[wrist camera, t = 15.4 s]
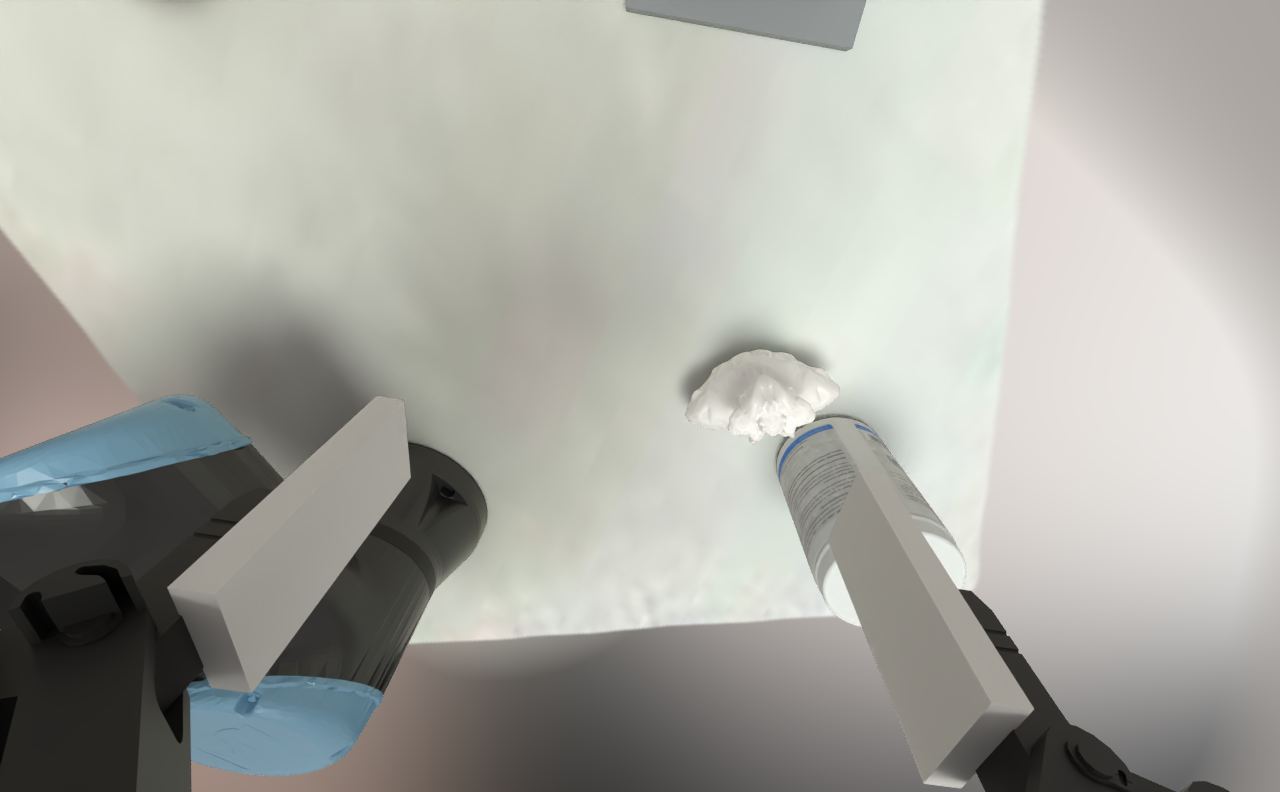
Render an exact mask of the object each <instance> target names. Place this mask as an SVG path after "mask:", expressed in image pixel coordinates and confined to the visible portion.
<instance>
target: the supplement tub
mask: <svg viewBox="0 0 1280 792" xmlns="http://www.w3.org/2000/svg"><path fill="white" fill-rule="evenodd" d="M794 433H795V435H794V437H793V438H791V437H789V438H788V439H787V441H786V442H785V443H784V445H783V446H782V448H781V450H780V452H779V456H778V459H777V475H778V478H779V481H780V484H781V487H782V490H783V493H784V496H785V499H786V502H787V504H788V507H789V510H790V513H791V516H792V519H793V521H794V524H795V527H796V530H797V533H798V535H799V538H800V541H801V544H802V547H803V550H804V552H805V555H806V558H807V561H808V564H809V566H810V569H811V572H812V574H813V577H814V580H815V582H816V584H817V586H818V588H819V590H820V592H821V593H822V595H823V598H824V600H825V602H826V604H827V606H828V607H829V609H830V610H831V611H832V612H833V613H834V614H835V615H836V616H838V617H839V618H841V619H842V620H844V621H846V622H848V623H850V624H853V625H856V626H860V627H862V626H861V624H860V621H859V619H858V616H857V614H856V611H855V609H854V606H853V603H852V601H851V598H850V596H849V593H848V591H847V588H846V586H845V583H844V581H843V578H842V576H841V573H840V571H839V568H838V566H837V563H836V561H835V558H834V555H833V553H832V550H831V548H830V545H829V543H828V540H827V539H828V537H829V535H830V533H831V530H832V528H833V526H834V524H835V521H836V519H837V517H838V515H839V513H840V510H841V508H842V506H843V504H844V501H845V499H846V497H847V495H848V493H849V490H850V488H851V486H852V484H853V481H854V479H855V477H856V475H857V473H858V470H862V471H868V472H875V473H881V474H885V476H886V477H887V479H888V481H889V482H890V484H891V485H892V487H893V488H894V490H895V491H896V493H897V495H898V496H899V498H900V499H901V501H902V502H903V504H904V506H905V507H906V509H907V510H908V512H909V513H910V515H911V517H912V518H913V520H914V521H915V523H916V524H917V526H918V527H919V529H920V531H921V532H922V534H923V535H924V537H925V538H926V540H927V542H928V543H929V545H930V546H931V548H932V549H933V551H934V553H935V554H936V556H937V557H938V559H939V560H940V562H941V564H942V565H943V567H944V568H945V570H946V571H947V573H948V574H949V576H950V578H951V579H952V581H953V582H954V584H955V585H956V587H957V589H961V588H962V586H963V584H964V581H965V578H966V564H965V560H964V557H963V555H962V553H961V552H960V550H959V549H958V547H957V545H956V542H955V540H954V539H953V537H952V535H951V534H950V533H949V531H948V530H947V529H946V527H945V526H944V525H943V523H942V522H941V520H940V519H939V518H938V516H937V515H936V514H935V512H934V511H933V509H932V508H931V507H930V505H929V504H928V503H927V501H926V500H925V499H924V497H923V496H922V495H921V493H920V492H919V491H918V489H917V488H916V487H915V485H914V484H913V483H912V481H911V480H910V478H909V477H908V476H907V474H906V473H905V472H904V470H903V469H902V468H901V466H900V465H899V464H898V462H897V461H896V460H895V458H894V457H893V456H892V454H891V453H890V451H889V450H888V449H887V447H886V446H885V445H884V443H883V442H882V441H881V439H880V438H879V437H878V435H877V434H876V433H875V432H874V431H873V430H872V429H871V428H870V427H868V426H867V425H865V424H863V423H861V422H859V421H856V420H853V419H849V418H841V417H840V418H839V417H833V418H826V419H821V420H818V421H815V422H812V423H810V424H807V425H805V426H803V427H802V428H800V429H799V430H797V431H796V432H794Z"/></svg>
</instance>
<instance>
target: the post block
mask: <svg viewBox="0 0 1280 792" xmlns="http://www.w3.org/2000/svg"><path fill="white" fill-rule="evenodd" d="M865 3H866V0H626V10H627V12H633V13H639V14H644V15H650V16H655V17H661V18H666V19H672V20H677V21H683V22H688V23H694V24H699V25H705V26H710V27H716V28H721V29H727V30H732V31H738V32H743V33H749V34H754V35H760V36H765V37H771V38H776V39H782V40H787V41H793V42H798V43H804V44H810V45H815V46H821V47H826V48H832V49H837V50H843V51H847V50H850V49H852V48H853V44H854V41H855V37H856V34H857V31H858V27H859V24H860V20H861V17H862V14H863V10H864V7H865Z"/></svg>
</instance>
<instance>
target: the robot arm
mask: <svg viewBox="0 0 1280 792" xmlns="http://www.w3.org/2000/svg"><path fill="white" fill-rule="evenodd" d="M251 443H253V441H252V439H251V438H250V437H247V436H243V435H242V434H241V433H240V432H239V431H238V430H237V429H236V428H235V427H234V426H233V425H232V424H231V423H230V422H229V421H228V420H227V419H226V418H225V417H224V416H223V415H222V414H221V413H220V412H219V411H218V410H217V409H216V408H214V407H213V406H212V405H211V404H210V403H208V402H207V401H205V400H203V399H201V398H198V397H195V396H190V395H171V396H166V397H163V398H159V399H157V400H154V401H151V402H149V403H146V404H143V405H141V406H138V407H135V408H133V409H130V410H127V411H125V412H122V413H119V414H117V415H114V416H111V417H109V418H106V419H104V420H101V421H98V422H96V423H93V424H90V425H87V426H85V427H82V428H80V429H77V430H74V431H71V432H69V433H66V434H64V435H61V436H58V437H55V438H53V439H50V440H47V441H45V442H42V443H39V444H37V445H34V446H31V447H29V448H26V449H24V450H21V451H18V452H16V453H13V454H10V455H8V456H5V457H3V458H0V792H191V761H193V762H196V763H199V764H202V765H206V766H209V767H213V768H217V769H221V770H226V771H231V772H237V773H244V774H253V775H264V776H281V775H282V776H284V775H296V774H303V773H309V772H313V771H317V770H320V769H323V768H325V767H327V766H330V765H331V764H333V763H335V762H336V761H338V760H339V759H341V758H342V757H343V756H345V754H347V753H348V752H349V750H350V749H351V748H352V747H353V746H354V744H355V743H356V741H357V739H358V738H359V736H360V734H361V732H362V731H363V729H364V727H365V725H366V723H367V722H368V720H369V718H370V717H371V715H372V713H373V712H374V710H375V709H376V708H377V707H378V706H379V705H380V703H381V702H382V699H383V694H384V692H385V690H386V688H387V686H388V684H389V682H390V680H391V678H392V676H393V674H394V672H395V670H396V668H397V666H398V664H399V661H400V660H401V657H402V655H403V653H404V651H405V649H406V647H407V645H408V643H409V641H410V639H411V637H412V635H413V633H414V631H415V629H416V627H417V625H418V623H419V621H420V618H421V616H422V614H423V612H424V610H425V608H426V606H427V604H428V602H429V600H430V598H431V596H432V594H433V592H434V590H435V589H436V588H437V587H438V586H439V585H440V584H441V583H442V582H443V581H444V580H445V579H446V578H447V577H448V576H449V575H450V574H451V573H452V572H453V571H454V570H456V569H457V568H458V567H459V566H460V565H461V564H462V563H463V562H464V561H465V560H466V559H467V558H468V557H469V556H470V555H471V553H472V552H473V551H474V549H475V548H476V546H477V544H478V542H479V540H480V537H481V535H482V533H483V531H484V528H485V525H486V520H487V509H486V504H485V500H484V497H483V495H482V493H481V491H480V489H479V487H478V486H477V484H476V483H475V481H474V480H473V479H472V478H471V476H470V475H469V474H468V473H467V472H466V471H465V470H464V469H463V468H461V467H460V466H459V465H458V464H456V463H455V462H454V461H452V460H451V459H449V458H448V457H446V456H444V455H442V454H440V453H438V452H436V451H434V450H431V449H429V448H426V447H423V446H419V445H415V444H410V443H408V439H407V427H406V415H405V403H404V400H401V399H395V398H388V397H382V396H376V397H375V398H374V399H373V400H372V401H371V402H369V403H368V404H367V405H366V406H365V407H364V408H363V409H362V410H361V411H360V412H359V413H357V414H356V415H355V416H354V417H353V418H352V419H351V420H350V421H349V422H348V423H347V424H345V425H344V426H343V427H342V428H341V429H340V430H339V431H338V432H337V433H336V434H334V435H333V436H332V437H331V438H330V439H329V440H328V441H327V442H326V443H325V444H324V445H322V446H321V447H320V448H319V449H318V450H317V451H316V452H315V453H314V454H313V455H312V456H310V457H309V458H308V459H307V460H306V461H305V462H304V463H303V464H302V465H301V466H300V467H298V468H297V469H296V470H295V471H294V472H293V473H292V474H291V475H290V476H289V477H287V478H286V479H285V480H284V479H283V478H282V477H281V476H280V475H279V474H278V473H277V472H276V471H275V470H274V468H273V467H272V466H271V465H270V464H269V463H268V462H267V461H266V460H265V459H264V458H263V456H262V455H261V454H260V453H259V452H258V451H257V450H256V449H255V448H254V447H253V445H252V444H251ZM827 540H828V543H829V545H830V548H831V550H832V553H833V555H834V558H835V561H836V563H837V566H838V568H839V571H840V573H841V576H842V578H843V581H844V583H845V586H846V588H847V591H848V593H849V596H850V598H851V601H852V603H853V606H854V609H855V611H856V614H857V616H858V619H859V621H860V624H861V626H862V629H863V631H864V634H865V636H866V639H867V641H868V644H869V646H870V649H871V651H872V654H873V656H874V659H875V662H876V664H877V667H878V669H879V672H880V674H881V677H882V679H883V682H884V684H885V687H886V689H887V692H888V694H889V697H890V699H891V702H892V705H893V707H894V710H895V712H896V714H897V717H898V720H899V722H900V725H901V727H902V730H903V732H904V735H905V737H906V740H907V742H908V745H909V747H910V750H911V752H912V755H913V758H914V760H915V763H916V765H917V768H918V770H919V772H920V775H921V778H922V780H923V783H924V784H931V785H939V786H946V787H954V788H962V787H963V786H964V785H965V784H966V783H967V782H968V780H970V778H971V777H972V776H973V775H974V774H975V773H977V775H978V777H979V779H980V781H981V783H982V785H983V787H984V790H985V791H986V792H1175V791H1173V790H1170V789H1168V788H1166V787H1164V786H1161V785H1159V784H1157V783H1154V782H1152V781H1149V780H1147V779H1145V778H1143V777H1140V776H1138V775H1136V774H1134V773H1131V772H1130V771H1129V770H1128V768H1127V767H1126V765H1125V764H1124V763H1123V762H1122V760H1121V759H1120V758H1119V757H1118V756H1117V755H1116V754H1115V753H1114V752H1113V751H1112V750H1111V749H1110V748H1109V747H1108V746H1106V745H1105V744H1104V743H1103V742H1101V741H1100V740H1098V739H1097V738H1096V737H1095V736H1094V735H1092V734H1090V733H1088V732H1086V731H1084V730H1082V729H1081V728H1079V727H1077V726H1073V725H1070V724H1069V723H1068V721H1067V720H1066V719H1065V717H1064V716H1063V714H1062V713H1061V711H1060V710H1059V709H1058V707H1057V705H1056V704H1055V703H1054V701H1053V699H1052V698H1051V697H1050V695H1049V694H1048V692H1047V691H1046V689H1045V688H1044V686H1043V685H1042V684H1041V682H1040V681H1039V679H1038V677H1037V676H1036V675H1035V673H1034V672H1033V670H1032V669H1031V667H1030V666H1029V664H1028V663H1027V661H1026V660H1025V658H1024V657H1023V655H1022V654H1019V653H1018V648H1017V647H1016V645H1015V644H1014V642H1013V641H1012V639H1011V638H1010V637H1009V636H1007V635H1006V630H1005V629H1004V628H1003V626H1002V625H1001V623H1000V622H999V620H998V619H997V617H996V616H995V615H994V613H993V612H992V610H991V609H989V607H987V606H986V605H985V604H984V603H983V602H982V601H981V600H980V599H979V598H978V597H977V596H976V595H975V594H974V593H973V592H972V591H968V590H961V589H957V587H956V585H955V584H954V582H953V581H952V579H951V578H950V576H949V574H948V573H947V571H946V570H945V568H944V567H943V565H942V564H941V562H940V560H939V559H938V557H937V556H936V554H935V553H934V551H933V549H932V548H931V546H930V545H929V543H928V542H927V540H926V538H925V537H924V535H923V534H922V532H921V531H920V529H919V527H918V526H917V524H916V523H915V521H914V520H913V518H912V517H911V515H910V513H909V512H908V510H907V509H906V507H905V506H904V504H903V502H902V501H901V499H900V498H899V496H898V495H897V493H896V491H895V490H894V488H893V487H892V485H891V484H890V482H889V481H888V479H887V477H886V476H885V474H881V473H875V472H868V471H862V470H858V473H857V475H856V477H855V479H854V481H853V484H852V486H851V488H850V490H849V493H848V495H847V497H846V499H845V501H844V504H843V506H842V508H841V510H840V513H839V515H838V517H837V519H836V521H835V524H834V526H833V528H832V530H831V533H830V535H829V537H828V539H827ZM1180 792H1229V791H1228V790H1226V789H1224V788H1222V787H1219V786H1217V785H1214V784H1211V783H1209V782H1205V781H1201V782H1200V781H1199V782H1192V783H1191V784H1189V785H1188V786H1187V787H1185V788H1184V789H1183V790H1181V791H1180Z"/></svg>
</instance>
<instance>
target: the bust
mask: <svg viewBox="0 0 1280 792" xmlns="http://www.w3.org/2000/svg"><path fill="white" fill-rule="evenodd" d="M839 393H840V388H839V386H838V385H837V384H836V383H835V382H834V381H833V380H832V379H830V377H829V376H828V374H827V372H826V371H825V370H823V369H821V368H814V367H810V366H807V365H805V364H804V363H802V362H800V361H797V360H796V359H795V357H794V356H793V355H791V354H788V353H783V352H771V351H769V350H763V349H760V350H753V351H751V352H743V353H740V354H738V355H736V356H734V357H733V358H732V359H730V360H729V361H727V362H724V363H722V364H720V365H718V366H717V367H715V368H714V369H713V370H712V373H711V375H710V377H709V379H708V380H707V381H706V382H705V383H704V384H703V385H702V386H701V387H700V388H699V389H697V390H696V391H695V392H694V393H693V394H692V396H691V402H690V404H689V405H688V406H687V410H686V413H685V416H686V418H687V420H688V421H690V422H692V423H695V424H697V425H700V426H702V427H705V428H709V429H722V428H727V427H728V430H729V432H730V433H731V434H733V435H749V441H750V442H751V444H754V443H755V442H756V441H759V440H760V438H762V437H763V436H764V435H765V433H767V434H769V435H770V436H776V435H777V434H780V435H782V436H784V437H787V436H790V437H791V438H793V437H794V435H795V433H794V432H795V430H796V427H798V426H802V425H805V424H809V423H812V422H813V421H814V419H815V417H816V414H815V412H818V411H819V410H821V409H823V408H824V407H826V406H827V405H829V404H830V403H831V402H832V401H833V400H835V399H836V398H837V397H838V396H839Z"/></svg>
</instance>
